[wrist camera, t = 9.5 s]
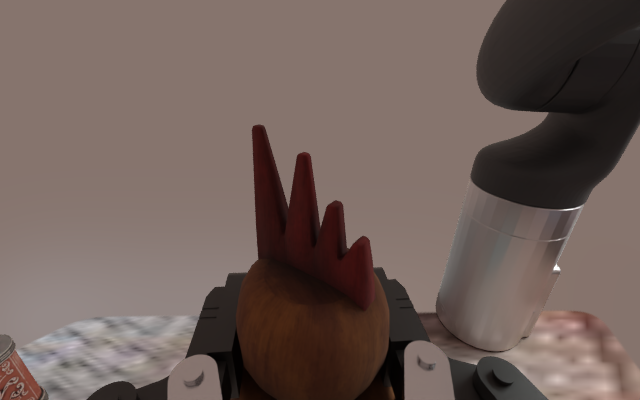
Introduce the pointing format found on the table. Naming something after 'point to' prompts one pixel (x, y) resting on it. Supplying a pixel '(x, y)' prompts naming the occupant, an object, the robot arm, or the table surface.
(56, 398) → the table surface
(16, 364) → the lighter
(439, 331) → the table surface
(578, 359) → the table surface
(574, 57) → the robot arm
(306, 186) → the wooden figurine
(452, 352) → the table surface
